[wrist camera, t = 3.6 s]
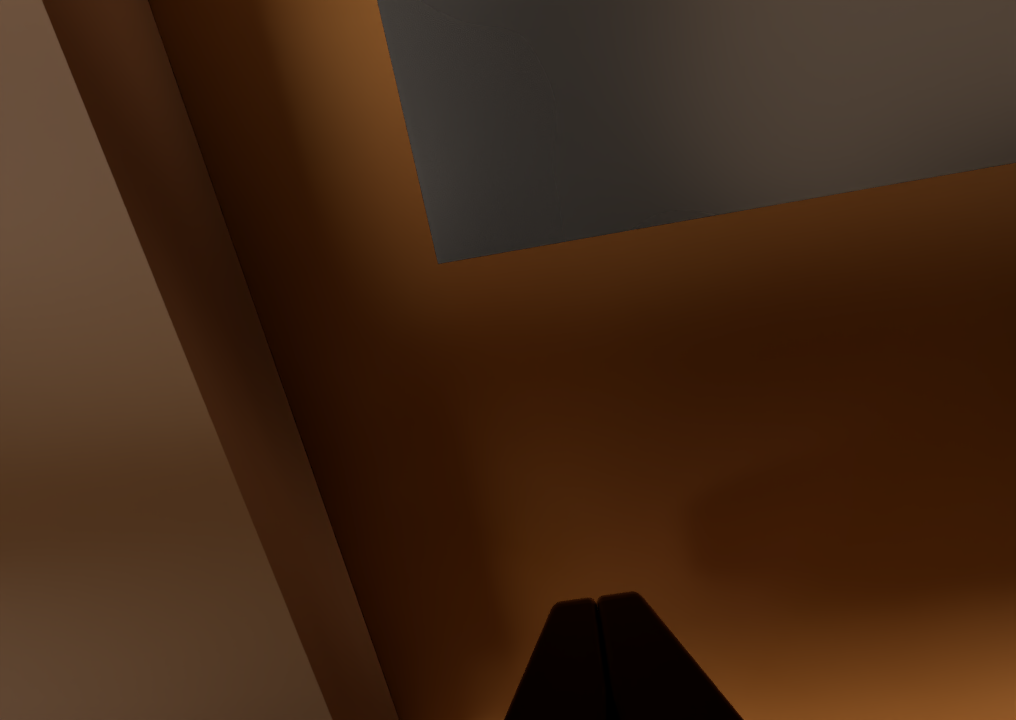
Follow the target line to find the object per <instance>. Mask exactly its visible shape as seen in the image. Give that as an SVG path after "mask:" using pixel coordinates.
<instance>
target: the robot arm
mask: <svg viewBox="0 0 1016 720" xmlns="http://www.w3.org/2000/svg"><path fill="white" fill-rule="evenodd" d="M597 608H598V609H597ZM504 720H743V718H742V717H741V716H740V715H739V713H738V712H737V711H736V710H735V709H734V707H733V706H732V705H731V704H730V703H729V701H728V700H727V699H726V698H725V696H724V695H723V694H722V693H721V692H720V690H719V689H718V688H717V687H716V686H715V684H714V683H713V682H712V681H711V679H710V678H709V677H708V676H707V675H706V673H705V672H704V671H703V670H702V668H701V667H700V666H699V665H698V664H697V662H696V661H695V660H694V659H693V658H692V656H691V655H690V654H689V653H688V651H687V650H686V649H685V648H684V647H683V645H682V644H681V643H680V642H679V641H678V639H677V638H676V637H675V636H674V634H673V633H672V632H671V631H670V630H669V628H668V627H667V626H666V625H665V624H664V622H663V621H662V620H661V619H660V617H659V616H658V615H657V614H656V613H655V611H654V610H653V609H652V608H651V607H650V605H649V604H648V603H647V602H646V600H645V599H644V598H643V597H642V596H641V595H640V594H639V593H637V592H634V591H631V592H624V593H617V594H610V595H603V596H601V597H600V598H598V601H597V604H596V602H595V601H594V599H592V598H581V599H574V600H567V601H560V602H557V603H556V604H554V605H553V607H552V609H551V611H550V613H549V615H548V618H547V620H546V622H545V625H544V627H543V629H542V632H541V634H540V636H539V639H538V641H537V643H536V646H535V648H534V650H533V653H532V655H531V657H530V660H529V662H528V664H527V667H526V669H525V672H524V674H523V676H522V679H521V681H520V683H519V686H518V688H517V690H516V693H515V695H514V697H513V700H512V702H511V704H510V707H509V709H508V711H507V714H506V716H505V718H504Z"/></svg>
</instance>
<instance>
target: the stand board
mask: <svg viewBox="0 0 1016 720" xmlns="http://www.w3.org/2000/svg"><path fill="white" fill-rule="evenodd" d="M0 720H399V718H398V715H397V712H396V710H395V707H394V704H393V701H392V698H391V695H390V692H389V690H388V687H387V684H386V681H385V678H384V675H383V672H382V669H381V667H380V664H379V661H378V658H377V655H376V652H375V649H374V647H373V644H372V641H371V638H370V635H369V632H368V629H367V627H366V624H365V621H364V618H363V615H362V612H361V609H360V606H359V604H358V601H357V598H356V595H355V592H354V589H353V586H352V584H351V581H350V578H349V575H348V572H347V569H346V566H345V564H344V561H343V558H342V555H341V552H340V549H339V546H338V544H337V541H336V538H335V535H334V532H333V529H332V526H331V523H330V521H329V518H328V515H327V512H326V509H325V506H324V503H323V501H322V498H321V495H320V492H319V489H318V486H317V483H316V481H315V478H314V475H313V472H312V469H311V466H310V463H309V460H308V458H307V455H306V452H305V449H304V446H303V443H302V440H301V438H300V435H299V432H298V429H297V426H296V423H295V420H294V418H293V415H292V412H291V409H290V406H289V403H288V400H287V397H286V395H285V392H284V389H283V386H282V383H281V380H280V377H279V375H278V372H277V369H276V366H275V363H274V360H273V357H272V355H271V352H270V349H269V346H268V343H267V340H266V337H265V335H264V332H263V329H262V326H261V323H260V320H259V317H258V314H257V312H256V309H255V306H254V303H253V300H252V297H251V294H250V292H249V289H248V286H247V283H246V280H245V277H244V274H243V272H242V269H241V266H240V263H239V260H238V257H237V254H236V251H235V249H234V246H233V243H232V240H231V237H230V234H229V231H228V229H227V226H226V223H225V220H224V217H223V214H222V211H221V209H220V206H219V203H218V200H217V197H216V194H215V191H214V188H213V186H212V183H211V180H210V177H209V174H208V171H207V168H206V166H205V163H204V160H203V157H202V154H201V151H200V148H199V146H198V143H197V140H196V137H195V134H194V131H193V128H192V126H191V123H190V120H189V117H188V114H187V111H186V108H185V105H184V103H183V100H182V97H181V94H180V91H179V88H178V85H177V83H176V80H175V77H174V74H173V71H172V68H171V65H170V63H169V60H168V57H167V54H166V51H165V48H164V45H163V42H162V40H161V37H160V34H159V31H158V28H157V25H156V22H155V20H154V17H153V14H152V11H151V8H150V5H149V2H148V0H0Z"/></svg>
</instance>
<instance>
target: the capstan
mask: <svg viewBox="0 0 1016 720" xmlns="http://www.w3.org/2000/svg"><path fill="white" fill-rule="evenodd" d="M377 1H378V6H379V10H380V14H381V19H382V23H383V27H384V32H385V36H386V40H387V45H388V49H389V53H390V58H391V62H392V66H393V71H394V75H395V79H396V84H397V88H398V92H399V97H400V101H401V105H402V110H403V114H404V118H405V123H406V127H407V131H408V136H409V140H410V144H411V149H412V153H413V157H414V162H415V166H416V170H417V175H418V179H419V183H420V188H421V192H422V196H423V201H424V205H425V209H426V214H427V218H428V222H429V227H430V231H431V235H432V240H433V244H434V248H435V253H436V257H437V261H438V264H440V263H446V262H452V261H458V260H463V259H469V258H475V257H480V256H486V255H492V254H497V253H503V252H509V251H515V250H520V249H526V248H532V247H537V246H543V245H549V244H555V243H560V242H566V241H572V240H577V239H583V238H589V237H594V236H600V235H606V234H612V233H617V232H623V231H629V230H634V229H640V228H646V227H652V226H657V225H663V224H669V223H674V222H680V221H686V220H691V219H697V218H703V217H709V216H714V215H720V214H726V213H731V212H737V211H743V210H749V209H754V208H760V207H766V206H771V205H777V204H783V203H788V202H794V201H800V200H806V199H811V198H817V197H823V196H828V195H834V194H840V193H846V192H851V191H857V190H863V189H868V188H874V187H880V186H885V185H891V184H897V183H903V182H908V181H914V180H920V179H925V178H931V177H937V176H943V175H948V174H954V173H960V172H965V171H971V170H977V169H982V168H988V167H994V166H1000V165H1005V164H1011V163H1016V0H377Z"/></svg>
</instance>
